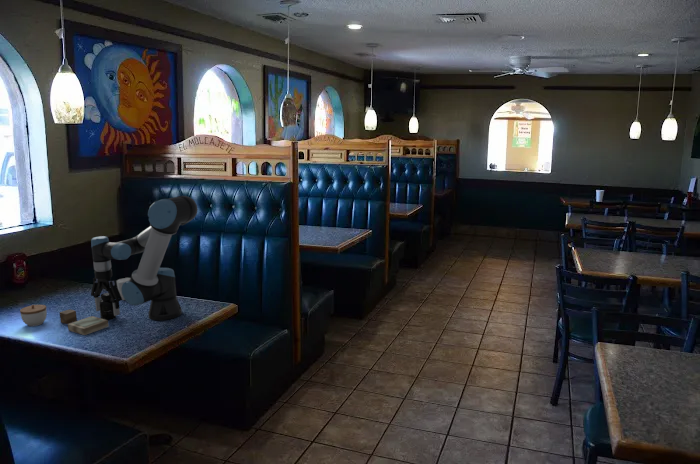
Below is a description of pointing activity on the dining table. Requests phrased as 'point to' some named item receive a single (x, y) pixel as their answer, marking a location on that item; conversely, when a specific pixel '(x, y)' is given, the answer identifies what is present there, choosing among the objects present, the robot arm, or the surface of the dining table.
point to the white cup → (119, 285)
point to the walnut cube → (68, 316)
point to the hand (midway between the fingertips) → (108, 312)
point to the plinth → (88, 325)
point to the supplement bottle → (106, 307)
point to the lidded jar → (34, 315)
